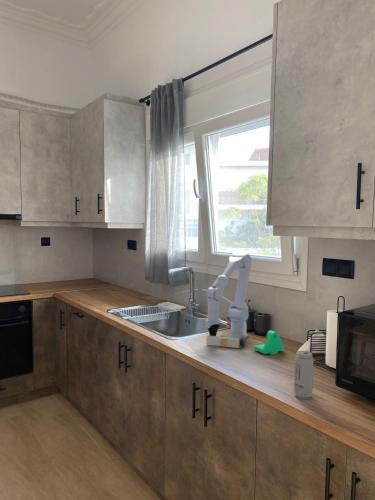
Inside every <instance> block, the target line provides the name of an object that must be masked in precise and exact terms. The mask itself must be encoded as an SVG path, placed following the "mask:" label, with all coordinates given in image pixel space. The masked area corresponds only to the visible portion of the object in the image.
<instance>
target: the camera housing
mask: <svg viewBox="0 0 375 500" xmlns="http://www.w3.org/2000/svg"><path fill="white" fill-rule="evenodd" d="M219 337H227V338H235V339H240V348H242V347H244V346H245V345H246V338H244V335H238V334H232V333H231V332H224V333H222V334H221V335H219Z"/></svg>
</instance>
